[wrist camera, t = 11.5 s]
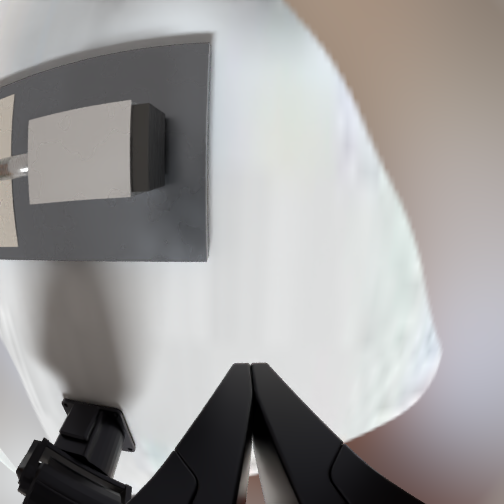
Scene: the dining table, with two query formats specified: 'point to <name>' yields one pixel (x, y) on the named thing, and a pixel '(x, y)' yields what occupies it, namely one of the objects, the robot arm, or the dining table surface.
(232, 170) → the dining table surface
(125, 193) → the threaded rod block
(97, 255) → the gauge board
